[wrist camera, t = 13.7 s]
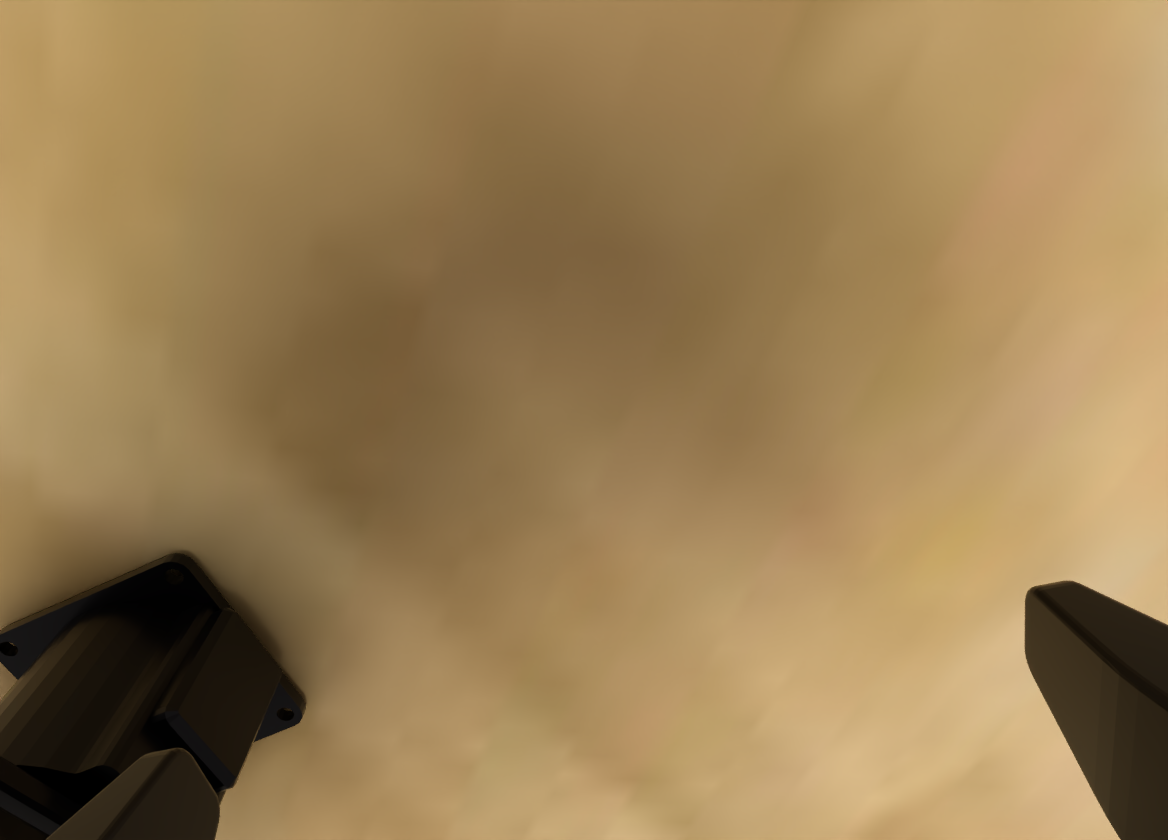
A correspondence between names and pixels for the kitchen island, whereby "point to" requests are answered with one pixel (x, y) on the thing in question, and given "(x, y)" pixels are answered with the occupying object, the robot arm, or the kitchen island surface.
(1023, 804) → the kitchen island surface
